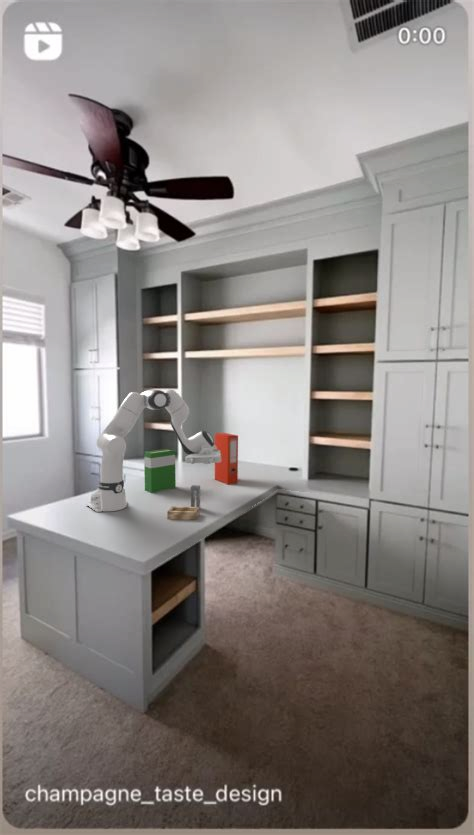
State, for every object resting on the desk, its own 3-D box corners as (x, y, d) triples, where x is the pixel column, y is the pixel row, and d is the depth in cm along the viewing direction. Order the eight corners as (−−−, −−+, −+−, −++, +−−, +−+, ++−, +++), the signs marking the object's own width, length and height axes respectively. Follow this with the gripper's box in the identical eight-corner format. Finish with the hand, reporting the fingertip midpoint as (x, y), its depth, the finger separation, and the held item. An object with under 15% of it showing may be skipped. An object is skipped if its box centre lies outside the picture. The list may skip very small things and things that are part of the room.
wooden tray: (167, 518, 178) (167, 511, 178) (172, 513, 186) (171, 506, 186) (196, 519, 177) (196, 512, 176) (199, 514, 185) (199, 507, 184)
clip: (190, 509, 191) (190, 487, 190) (192, 507, 195) (192, 485, 194) (198, 510, 191) (198, 487, 190) (200, 507, 194) (200, 485, 193)
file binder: (224, 477, 261) (224, 432, 259) (237, 483, 246) (238, 435, 244) (214, 479, 257) (214, 433, 254) (227, 484, 242) (227, 436, 240)
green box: (168, 485, 240) (168, 448, 238) (175, 487, 235) (175, 450, 233) (144, 490, 228) (144, 451, 226) (151, 492, 223) (150, 453, 221)
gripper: (188, 450, 217) (181, 457, 203) (222, 450, 214) (218, 456, 200) (189, 461, 218) (182, 468, 204) (223, 460, 215) (218, 467, 201)
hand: (200, 462), depth 202 cm, fingers open, 8 cm apart
